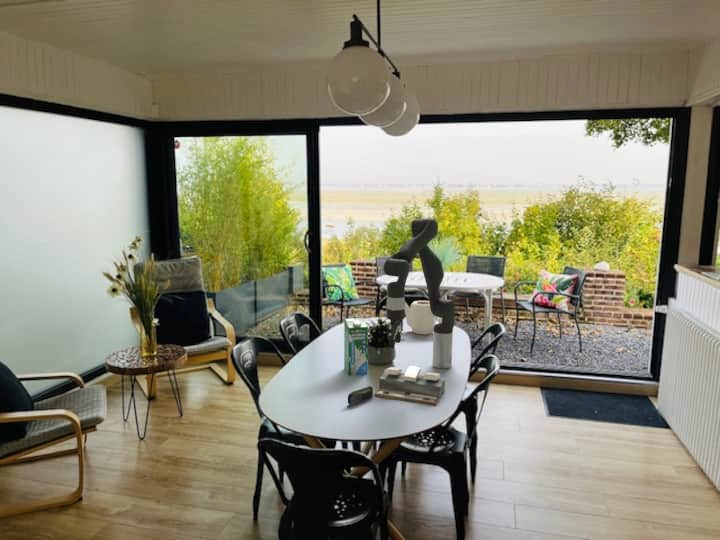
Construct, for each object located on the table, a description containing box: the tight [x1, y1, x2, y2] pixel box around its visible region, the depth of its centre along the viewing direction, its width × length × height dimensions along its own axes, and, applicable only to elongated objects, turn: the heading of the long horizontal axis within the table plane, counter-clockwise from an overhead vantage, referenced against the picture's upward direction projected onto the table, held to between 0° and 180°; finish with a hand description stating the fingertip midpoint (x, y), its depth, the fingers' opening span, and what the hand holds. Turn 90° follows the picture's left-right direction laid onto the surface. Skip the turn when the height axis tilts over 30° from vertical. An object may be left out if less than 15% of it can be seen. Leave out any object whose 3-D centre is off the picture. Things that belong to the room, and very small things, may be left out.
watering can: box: [405, 300, 442, 336], centre depth 309 cm, size 16×27×19 cm, turn 62°
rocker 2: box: [404, 365, 422, 381], centre depth 217 cm, size 9×5×3 cm, turn 159°
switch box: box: [374, 372, 446, 406], centre depth 215 cm, size 16×26×6 cm, turn 69°
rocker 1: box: [383, 366, 403, 375], centre depth 220 cm, size 9×5×3 cm, turn 159°
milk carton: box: [343, 317, 369, 377], centre depth 239 cm, size 9×9×25 cm
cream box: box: [423, 371, 441, 381], centre depth 214 cm, size 9×5×3 cm, turn 159°
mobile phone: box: [347, 385, 374, 408], centre depth 206 cm, size 5×3×15 cm
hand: (394, 345), depth 213 cm, fingers open, 8 cm apart
